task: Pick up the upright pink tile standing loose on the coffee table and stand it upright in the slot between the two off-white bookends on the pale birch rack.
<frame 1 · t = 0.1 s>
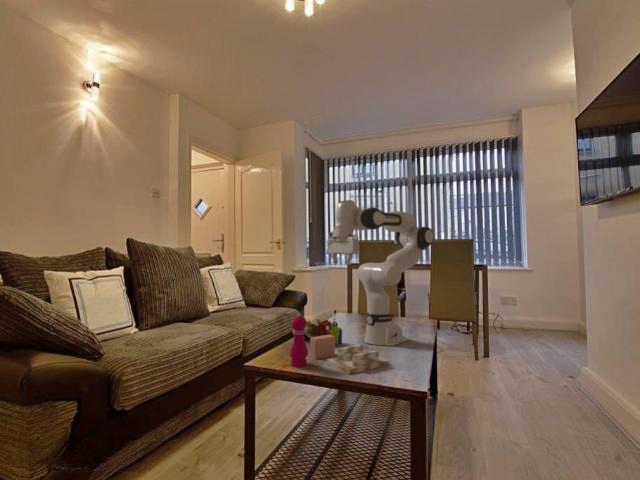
hand: (341, 263, 151), 39 cm above the table, tool pointing down, fingers open, 8 cm apart
robot toy: (323, 343, 158), on the table
upright pink tile: (322, 356, 139), on the table
bookend rack: (357, 363, 129), on the table
pepper mill: (298, 364, 128), on the table
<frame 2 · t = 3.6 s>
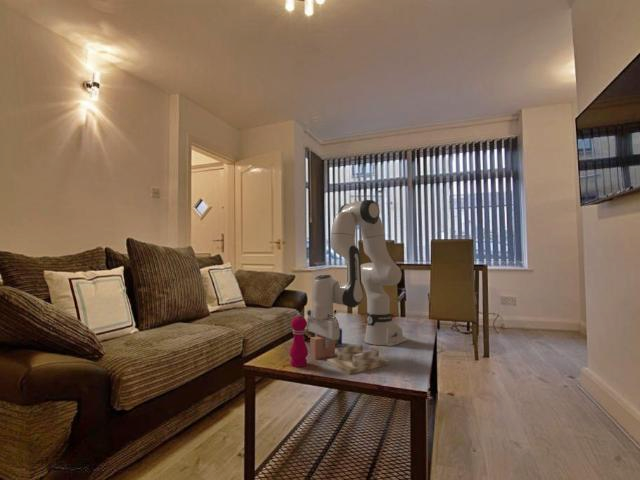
hand: (322, 345, 139), 4 cm above the table, tool pointing down, fingers closed on upright pink tile, 4 cm apart
upright pink tile: (322, 355, 139), on the table, touching gripper
everything else where it was.
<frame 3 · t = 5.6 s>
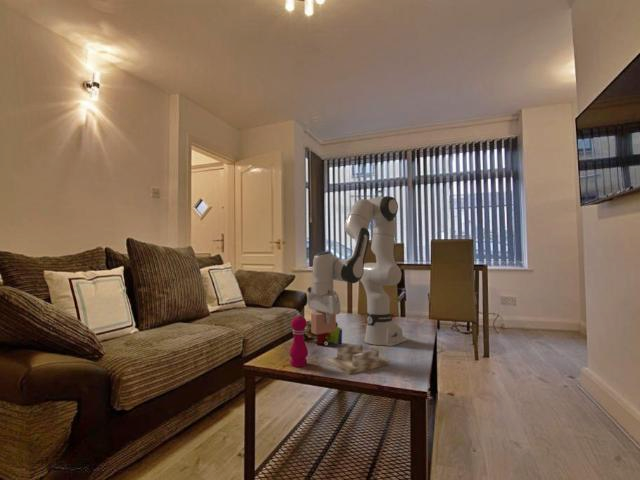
hand: (323, 321, 140), 14 cm above the table, tool pointing down, fingers closed on upright pink tile, 4 cm apart
upright pink tile: (323, 331, 140), point 10 cm above the table, touching gripper
everything else where it was.
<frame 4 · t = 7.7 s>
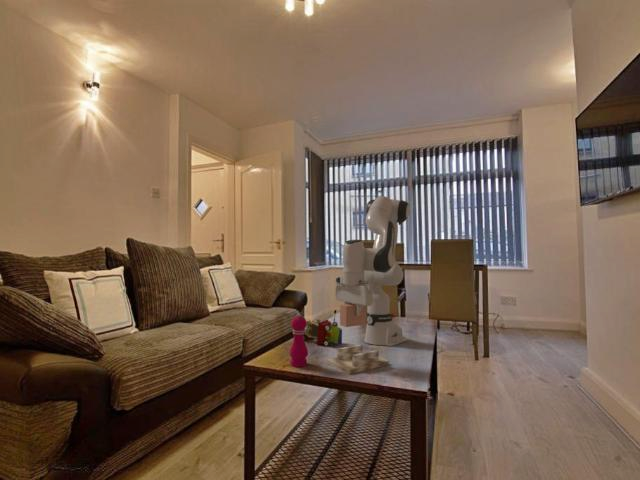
hand: (353, 314, 131), 19 cm above the table, tool pointing down, fingers closed on upright pink tile, 4 cm apart
upright pink tile: (353, 324, 131), point 15 cm above the table, touching gripper
everything else where it was.
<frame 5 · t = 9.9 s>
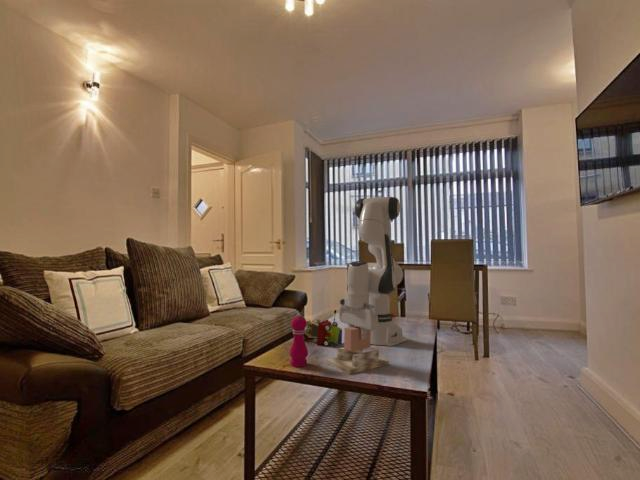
hand: (357, 337, 129), 10 cm above the table, tool pointing down, fingers closed on upright pink tile, 4 cm apart
upright pink tile: (357, 348, 129), point 6 cm above the table, touching gripper
everything else where it was.
when the fingers open (8 cm above the table, at t = 11.5 s): upright pink tile drops 2 cm, resting on bookend rack.
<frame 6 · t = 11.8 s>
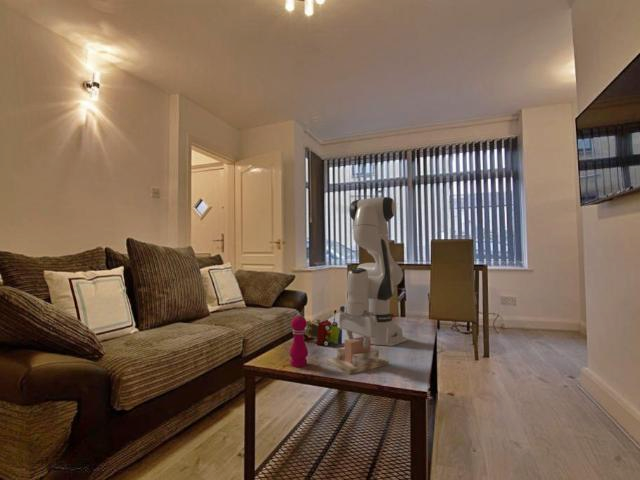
hand: (357, 344, 129), 8 cm above the table, tool pointing down, fingers open, 7 cm apart
upright pink tile: (357, 360, 129), point 1 cm above the table, touching bookend rack
everything else where it was.
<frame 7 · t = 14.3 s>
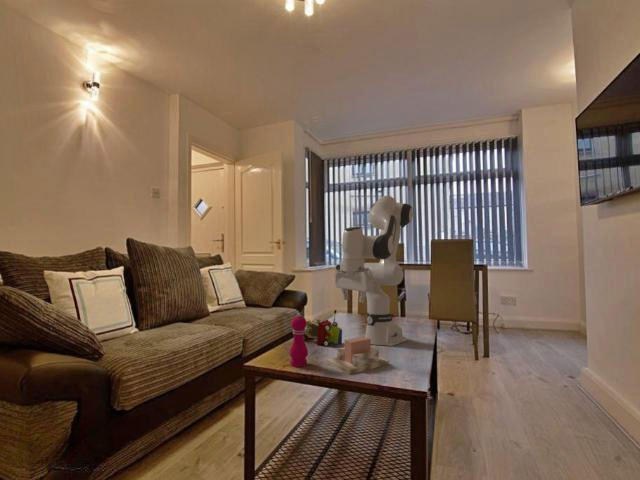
hand: (353, 301, 132), 24 cm above the table, tool pointing down, fingers open, 8 cm apart
nothing on the table moved.
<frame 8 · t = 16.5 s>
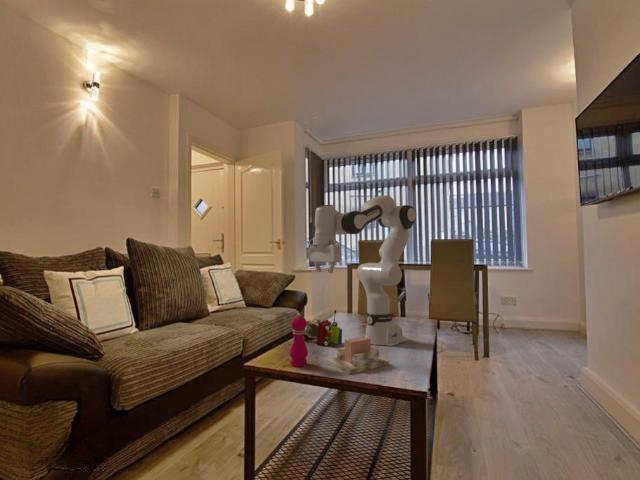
hand: (324, 272, 143), 35 cm above the table, tool pointing down, fingers open, 8 cm apart
nothing on the table moved.
at the end: upright pink tile 0.0 cm off-centre on the bookend rack, point 1.5 cm above the bookend rack's base; upright pink tile tilted 0°; the gripper is holding nothing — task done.
